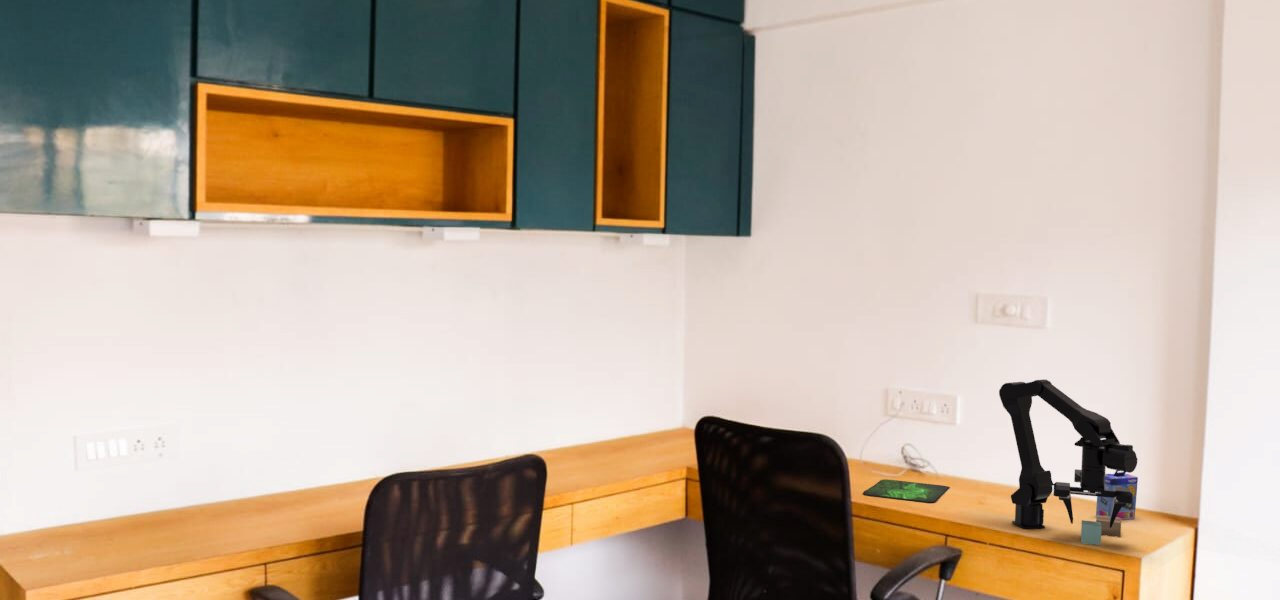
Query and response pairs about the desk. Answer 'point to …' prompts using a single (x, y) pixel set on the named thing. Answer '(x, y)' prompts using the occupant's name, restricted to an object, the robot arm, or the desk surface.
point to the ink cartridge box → (1110, 483)
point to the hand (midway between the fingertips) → (1091, 525)
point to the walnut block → (1105, 528)
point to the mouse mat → (907, 490)
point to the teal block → (1091, 532)
